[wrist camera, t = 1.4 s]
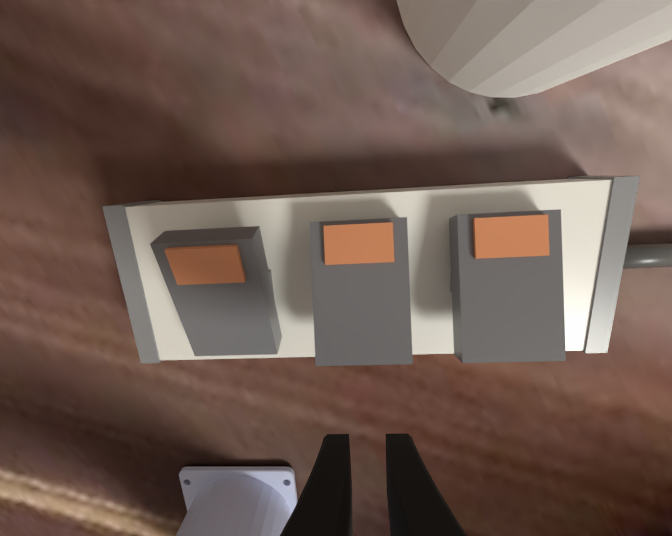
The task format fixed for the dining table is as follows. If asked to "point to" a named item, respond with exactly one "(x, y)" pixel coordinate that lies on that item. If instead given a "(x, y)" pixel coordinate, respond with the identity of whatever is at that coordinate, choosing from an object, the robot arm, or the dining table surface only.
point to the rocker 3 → (507, 286)
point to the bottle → (530, 39)
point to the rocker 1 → (220, 289)
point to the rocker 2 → (361, 292)
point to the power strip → (423, 250)
